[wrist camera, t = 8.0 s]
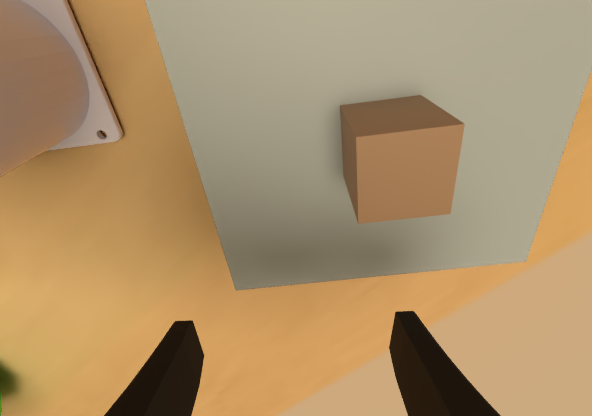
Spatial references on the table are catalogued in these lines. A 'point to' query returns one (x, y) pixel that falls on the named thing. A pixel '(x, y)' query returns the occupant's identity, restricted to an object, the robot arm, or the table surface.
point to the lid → (374, 128)
